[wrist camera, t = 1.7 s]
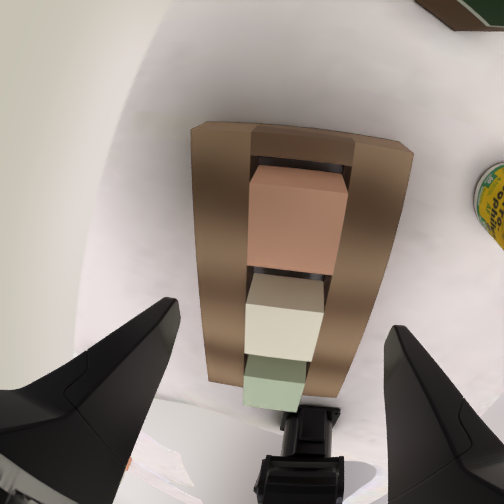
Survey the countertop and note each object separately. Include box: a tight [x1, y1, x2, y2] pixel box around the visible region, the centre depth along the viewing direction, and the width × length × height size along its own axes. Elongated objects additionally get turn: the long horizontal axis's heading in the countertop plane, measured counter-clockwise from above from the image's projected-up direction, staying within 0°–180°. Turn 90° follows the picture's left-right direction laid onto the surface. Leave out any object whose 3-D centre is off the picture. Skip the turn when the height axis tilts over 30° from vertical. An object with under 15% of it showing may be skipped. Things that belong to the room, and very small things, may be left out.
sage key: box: [243, 354, 307, 412], centre depth 23 cm, size 4×4×3 cm
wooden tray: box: [191, 122, 414, 398], centre depth 22 cm, size 22×12×3 cm, turn 178°
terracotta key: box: [247, 165, 348, 275], centre depth 16 cm, size 4×4×3 cm
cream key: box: [244, 273, 324, 362], centre depth 20 cm, size 4×4×3 cm
